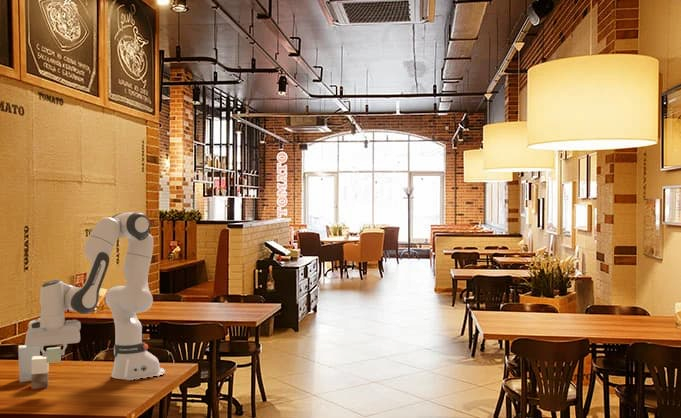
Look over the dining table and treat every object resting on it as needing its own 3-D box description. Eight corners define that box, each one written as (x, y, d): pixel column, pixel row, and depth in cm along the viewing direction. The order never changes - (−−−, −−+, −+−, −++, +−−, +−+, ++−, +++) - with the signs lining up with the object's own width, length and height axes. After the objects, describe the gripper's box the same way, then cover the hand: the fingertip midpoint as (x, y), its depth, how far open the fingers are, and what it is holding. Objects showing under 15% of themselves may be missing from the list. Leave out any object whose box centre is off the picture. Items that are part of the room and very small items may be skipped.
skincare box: (39, 377, 280) (39, 342, 280) (40, 380, 275) (40, 345, 275) (17, 379, 276) (18, 344, 276) (18, 382, 271) (18, 347, 271)
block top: (48, 369, 269) (48, 355, 269) (47, 373, 263) (47, 358, 263) (32, 370, 267) (32, 356, 267) (31, 374, 261) (31, 359, 261)
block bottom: (48, 384, 269) (48, 369, 269) (47, 387, 263) (47, 373, 263) (32, 385, 267) (32, 370, 267) (31, 389, 261) (31, 374, 261)
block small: (60, 359, 261) (60, 346, 261) (60, 361, 257) (59, 349, 256) (47, 360, 259) (46, 348, 259) (46, 363, 255) (46, 350, 255)
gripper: (80, 317, 264) (81, 351, 265) (25, 322, 257) (26, 356, 257) (80, 320, 258) (81, 354, 259) (24, 325, 251) (25, 360, 251)
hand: (53, 355), depth 258 cm, fingers closed on block small, 5 cm apart
